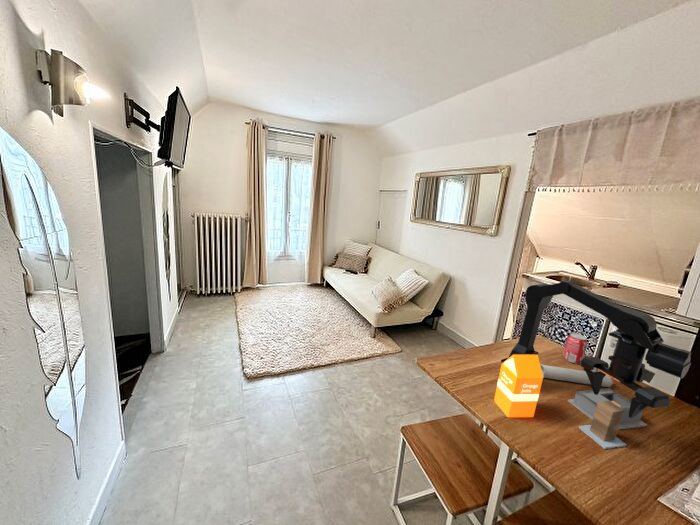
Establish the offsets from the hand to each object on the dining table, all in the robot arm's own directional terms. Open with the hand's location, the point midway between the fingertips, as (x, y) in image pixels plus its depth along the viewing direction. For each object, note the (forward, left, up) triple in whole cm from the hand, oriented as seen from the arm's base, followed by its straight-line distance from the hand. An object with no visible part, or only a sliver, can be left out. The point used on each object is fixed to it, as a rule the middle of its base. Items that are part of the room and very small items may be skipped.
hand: (612, 405), depth 79 cm
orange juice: (-19, +14, -11) cm, 26 cm away
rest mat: (0, 0, -11) cm, 11 cm away
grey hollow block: (+12, +8, -11) cm, 18 cm away
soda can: (+32, +37, -11) cm, 50 cm away
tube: (+18, +24, -12) cm, 33 cm away
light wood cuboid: (0, 0, -11) cm, 11 cm away
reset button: (+15, +8, -11) cm, 20 cm away
